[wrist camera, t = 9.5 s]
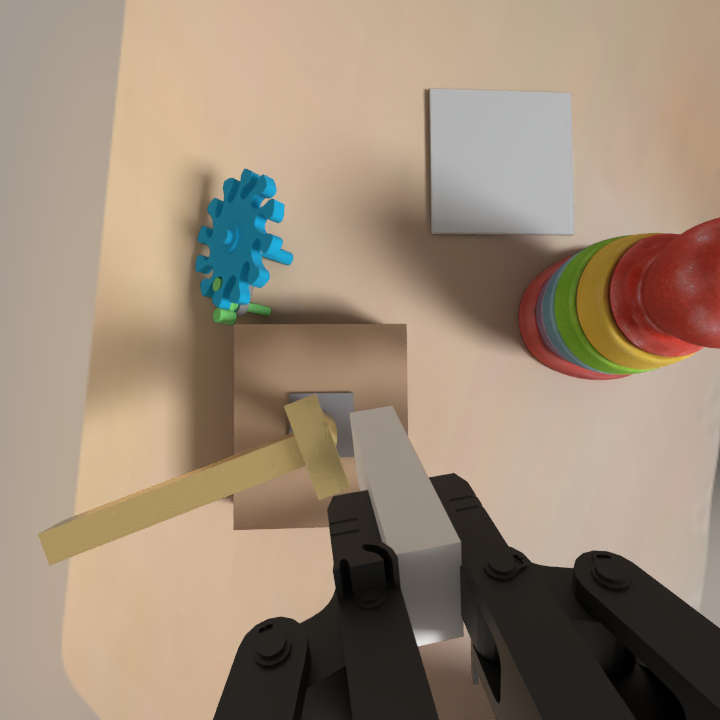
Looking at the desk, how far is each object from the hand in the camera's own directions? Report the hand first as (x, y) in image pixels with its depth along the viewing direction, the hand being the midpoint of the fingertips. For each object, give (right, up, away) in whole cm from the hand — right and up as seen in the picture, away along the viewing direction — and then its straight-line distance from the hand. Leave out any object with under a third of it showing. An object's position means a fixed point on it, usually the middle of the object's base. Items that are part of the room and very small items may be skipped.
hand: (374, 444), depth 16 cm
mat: (+11, +19, +22) cm, 31 cm away
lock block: (-3, -2, +20) cm, 21 cm away
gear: (-10, +11, +21) cm, 25 cm away
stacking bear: (+17, +6, +22) cm, 29 cm away
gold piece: (-9, -4, +14) cm, 17 cm away
